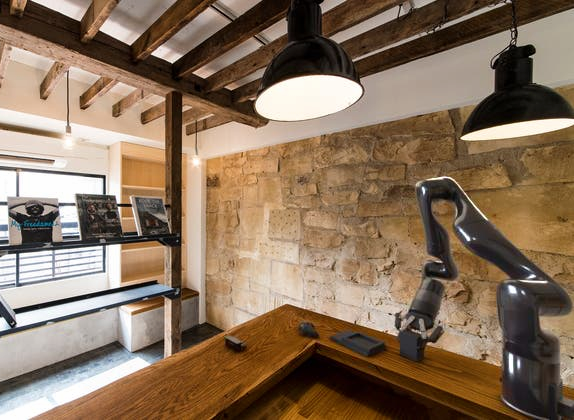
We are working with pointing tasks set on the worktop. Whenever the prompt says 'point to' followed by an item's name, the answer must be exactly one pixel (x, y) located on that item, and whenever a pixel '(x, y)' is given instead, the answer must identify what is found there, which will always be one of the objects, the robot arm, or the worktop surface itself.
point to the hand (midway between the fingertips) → (409, 345)
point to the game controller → (308, 329)
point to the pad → (359, 342)
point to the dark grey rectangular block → (410, 345)
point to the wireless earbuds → (234, 343)
